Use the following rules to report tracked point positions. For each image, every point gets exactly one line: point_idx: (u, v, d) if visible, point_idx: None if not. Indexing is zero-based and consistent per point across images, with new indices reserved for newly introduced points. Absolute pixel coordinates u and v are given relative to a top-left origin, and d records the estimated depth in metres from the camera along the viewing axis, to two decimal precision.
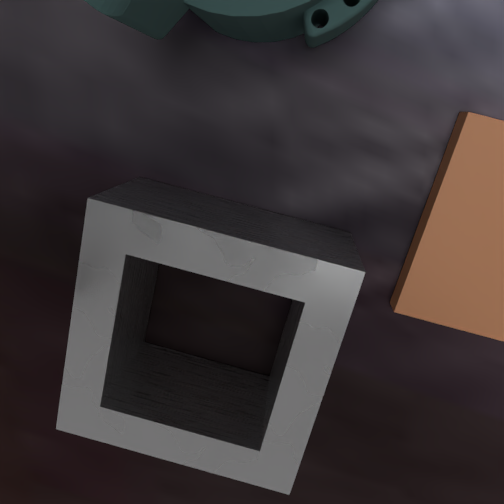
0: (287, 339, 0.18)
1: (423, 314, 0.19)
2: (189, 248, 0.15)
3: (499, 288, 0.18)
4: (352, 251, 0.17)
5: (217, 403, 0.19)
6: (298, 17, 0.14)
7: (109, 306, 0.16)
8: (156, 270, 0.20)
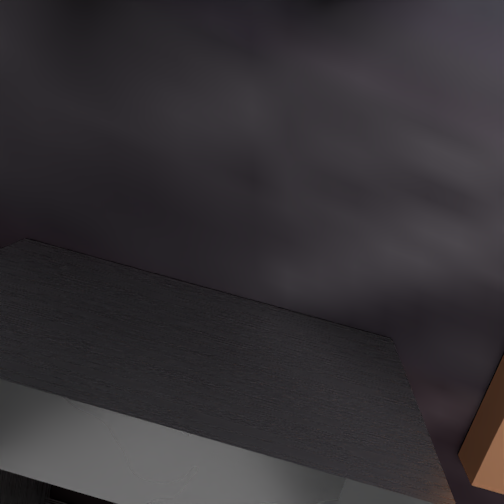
0: None
1: None
2: (51, 440, 0.07)
3: None
4: (410, 412, 0.08)
5: None
6: None
7: None
8: None
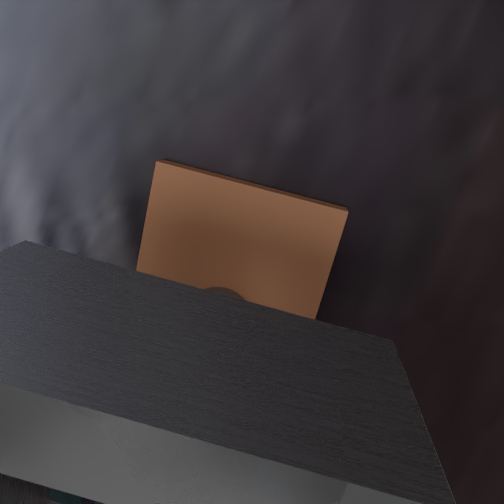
0: None
1: None
2: (52, 444, 0.07)
3: None
4: (411, 415, 0.08)
5: None
6: None
7: None
8: None
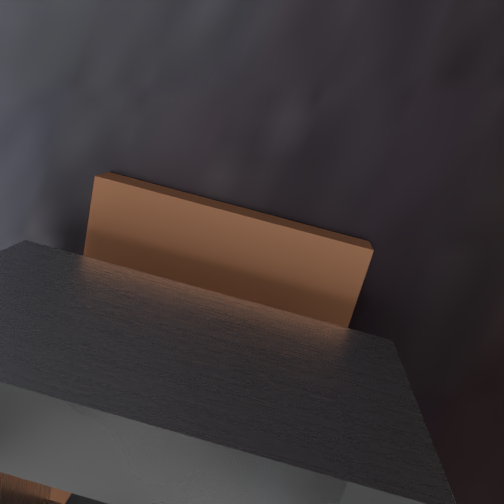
0: None
1: None
2: (52, 443, 0.07)
3: None
4: (410, 414, 0.08)
5: None
6: None
7: None
8: None
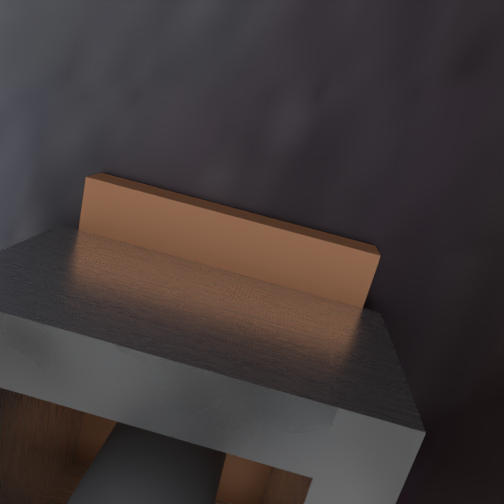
0: (282, 497, 0.11)
1: None
2: (102, 380, 0.08)
3: (229, 488, 0.15)
4: (392, 366, 0.10)
5: None
6: None
7: None
8: None
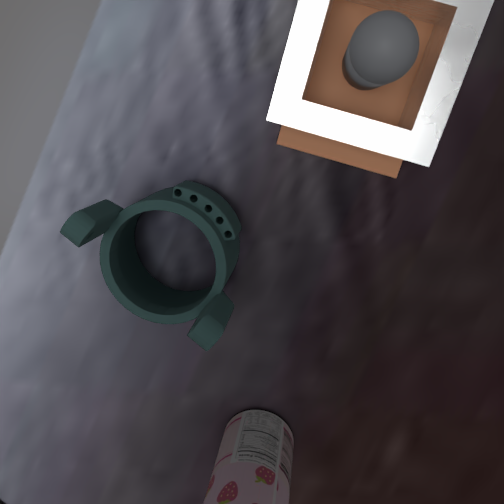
0: (429, 63, 0.25)
1: (399, 159, 0.30)
2: None
3: (383, 114, 0.29)
4: None
5: None
6: (227, 240, 0.30)
7: (320, 16, 0.24)
8: None
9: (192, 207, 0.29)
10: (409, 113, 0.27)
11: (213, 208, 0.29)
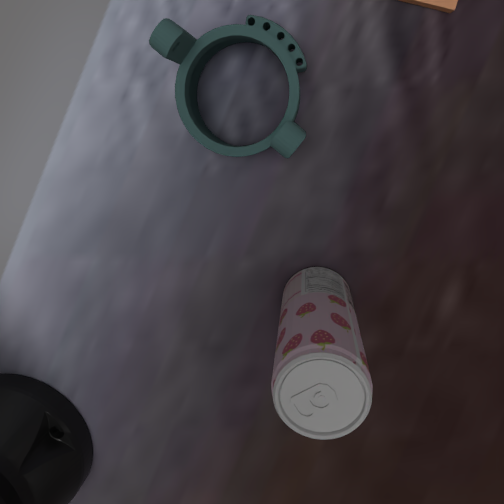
0: None
1: None
2: None
3: None
4: None
5: None
6: None
7: None
8: None
9: (266, 33, 0.30)
10: None
11: (285, 35, 0.31)
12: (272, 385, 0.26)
